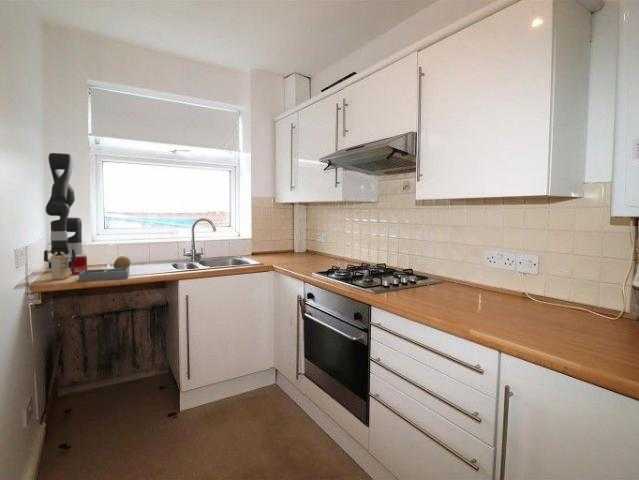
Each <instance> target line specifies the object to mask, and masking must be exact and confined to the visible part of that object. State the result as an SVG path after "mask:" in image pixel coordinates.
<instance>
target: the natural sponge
mask: <svg viewBox="0 0 639 480" xmlns="http://www.w3.org/2000/svg"><path fill="white" fill-rule="evenodd" d="M130 266H131V260H130V258H128V257H127V256H119V257H117V258H116V259H115V261H114V263H113V269H115V268H129V269H130Z"/></svg>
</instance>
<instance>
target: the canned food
mask: <svg viewBox="0 0 639 480" xmlns="http://www.w3.org/2000/svg"><path fill="white" fill-rule="evenodd" d="M71 259H72V256H71ZM83 270H88V256H87V254H82V255H76V260H73V261H72V267H71V270H70V274H72V275H74V276H75V275H77V274H78V275H79V273H80V272H82V271H83Z"/></svg>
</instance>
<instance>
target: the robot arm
mask: <svg viewBox="0 0 639 480" xmlns="http://www.w3.org/2000/svg"><path fill="white" fill-rule="evenodd" d="M48 165H49V168H50V171H51V177H52V179H53V184H52V187H51V194H50V198H49V199H48V202H47V203H46V206H45V213H46V215H48V216H50V217H59V219H55V220H51V221H50V248H51V249H50V250H48V249H46V250H44V251H43V262H45V263H46V262H47V263H48V269H50V270H51V257H50V258H49V254H50V253H51V256H59V255H63V256H64V257H65V258H66V259H68V260H69V268H70V271H71V267H72V261H73V260H76V255H83V237H82V235H83V234H82V233H83V232H82V231H83V229H82V228H83V224H82V219H81V218H80V217H69V215H70V210H71V209H70V208H71V207H72V206H73V204H74V203H75V200H76V196H75V190H74V188H73V186H72V185H71V184H70V179H71V177H72V172H73V168H74V160H73V155H71V154H70V153H58V152H51V153H49V154H48ZM60 170H63V172H62V174H61V172H60ZM68 233H74V234H73V235H72V236H68ZM67 255H68V256H67ZM69 255H70V256H69ZM71 256H72V259H71Z"/></svg>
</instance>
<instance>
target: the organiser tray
mask: <svg viewBox="0 0 639 480" xmlns="http://www.w3.org/2000/svg"><path fill="white" fill-rule="evenodd" d="M128 276H130V267H129V268H101V269H99V268H98V269H87V270H83V271H82V272H80V273H79V274H78V282H86V281H103V280H115V279H116V280H118V279H119V278H122V279H128V278H129V277H128Z"/></svg>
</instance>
